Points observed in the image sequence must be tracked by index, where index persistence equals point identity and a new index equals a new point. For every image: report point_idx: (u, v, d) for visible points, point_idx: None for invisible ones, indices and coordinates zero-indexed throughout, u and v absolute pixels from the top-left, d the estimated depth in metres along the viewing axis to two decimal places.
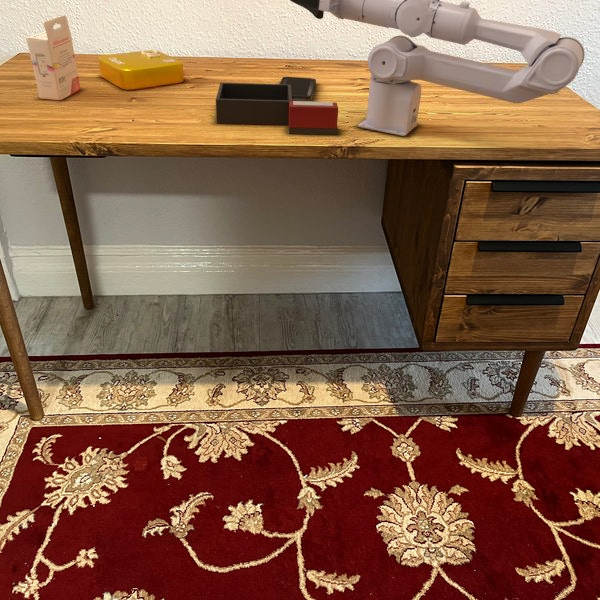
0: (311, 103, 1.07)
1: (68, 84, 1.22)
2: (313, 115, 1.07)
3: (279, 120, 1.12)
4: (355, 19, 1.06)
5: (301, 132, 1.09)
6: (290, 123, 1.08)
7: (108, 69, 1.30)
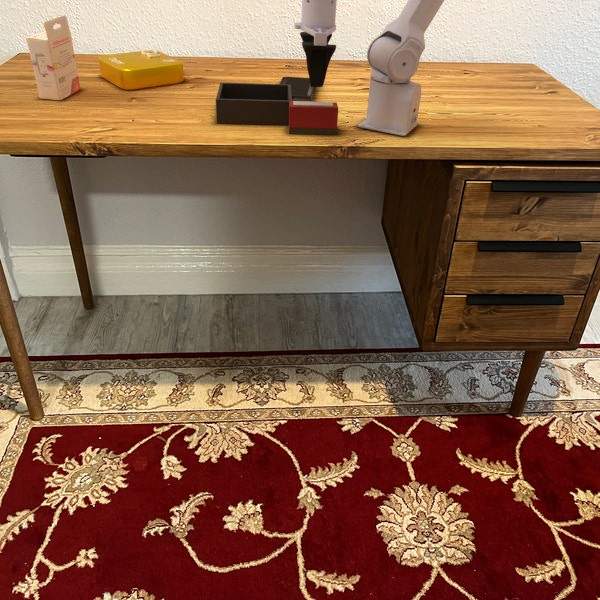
0: (311, 103, 1.07)
1: (68, 84, 1.22)
2: (313, 115, 1.07)
3: (279, 120, 1.12)
4: (334, 7, 0.97)
5: (301, 132, 1.09)
6: (290, 123, 1.08)
7: (108, 69, 1.30)
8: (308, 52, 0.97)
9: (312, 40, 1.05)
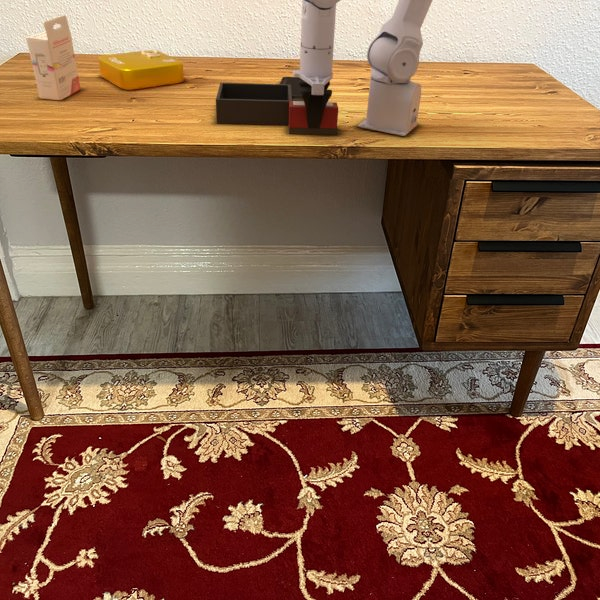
0: None
1: (68, 84, 1.22)
2: None
3: (279, 120, 1.12)
4: (330, 57, 1.02)
5: (301, 132, 1.09)
6: (290, 123, 1.08)
7: (108, 69, 1.30)
8: (306, 97, 1.03)
9: None
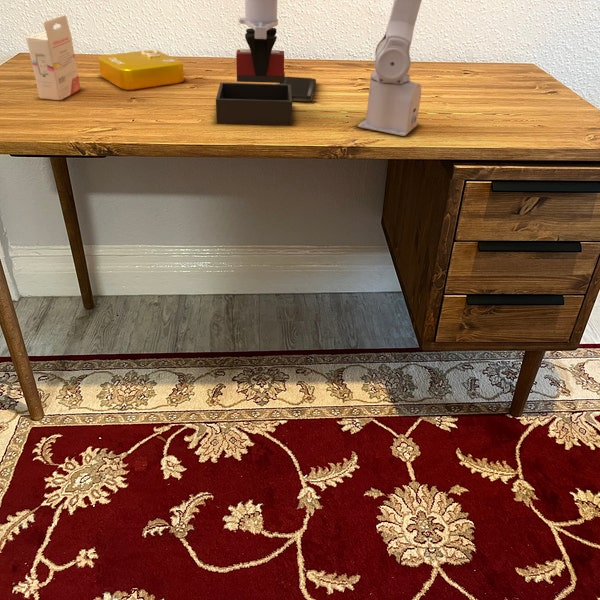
0: None
1: (68, 84, 1.22)
2: None
3: (279, 120, 1.12)
4: (274, 3, 1.04)
5: (249, 80, 1.11)
6: (237, 70, 1.10)
7: (108, 69, 1.30)
8: (250, 43, 1.05)
9: None
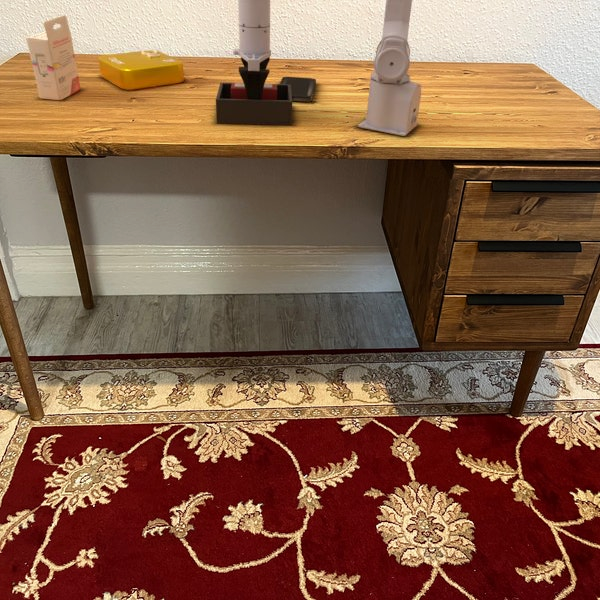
0: None
1: (68, 84, 1.22)
2: None
3: (279, 120, 1.12)
4: (267, 35, 1.08)
5: None
6: None
7: (108, 69, 1.30)
8: (244, 76, 1.08)
9: None
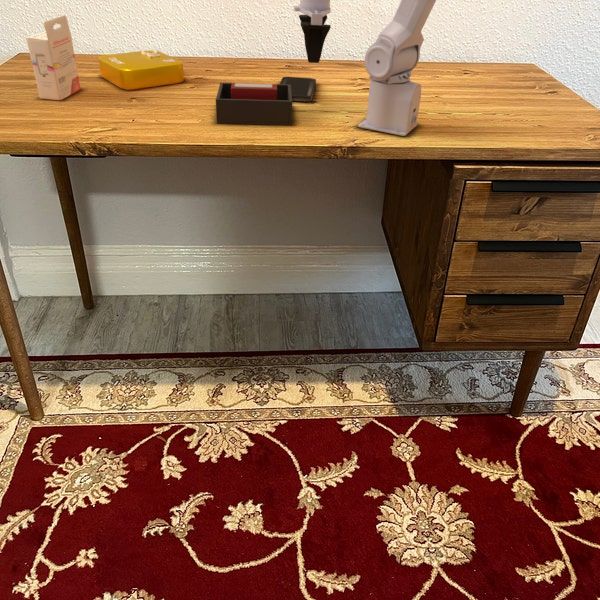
0: (252, 85, 1.14)
1: (68, 84, 1.22)
2: (253, 96, 1.14)
3: (279, 120, 1.12)
4: None
5: None
6: None
7: (108, 69, 1.30)
8: (306, 31, 1.10)
9: (309, 22, 1.18)
